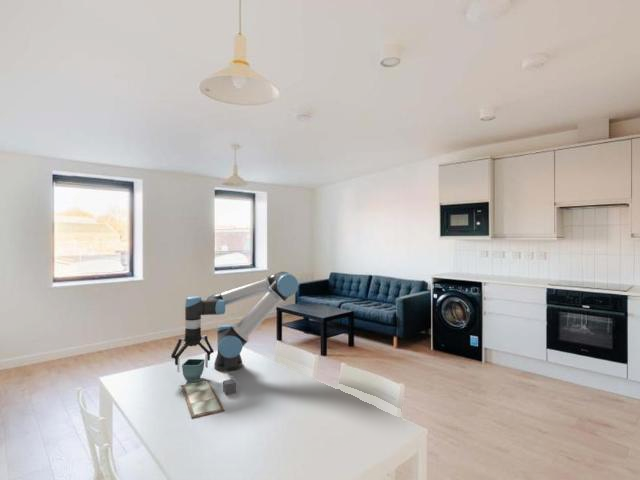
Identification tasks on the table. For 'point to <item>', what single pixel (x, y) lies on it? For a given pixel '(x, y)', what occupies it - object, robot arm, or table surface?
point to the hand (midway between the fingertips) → (192, 369)
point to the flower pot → (193, 369)
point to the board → (201, 399)
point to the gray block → (229, 387)
